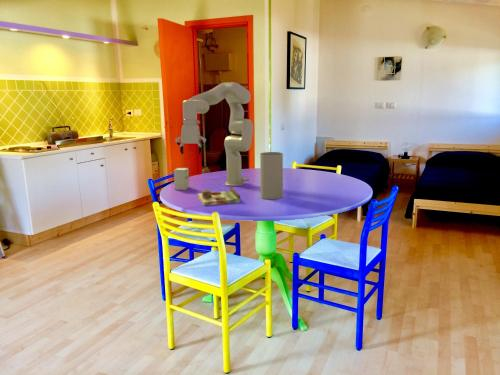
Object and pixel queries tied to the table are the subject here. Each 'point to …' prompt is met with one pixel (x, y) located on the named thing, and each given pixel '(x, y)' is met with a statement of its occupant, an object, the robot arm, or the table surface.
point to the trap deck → (221, 198)
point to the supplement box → (181, 178)
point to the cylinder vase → (271, 175)
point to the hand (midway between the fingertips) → (191, 153)
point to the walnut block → (206, 194)
